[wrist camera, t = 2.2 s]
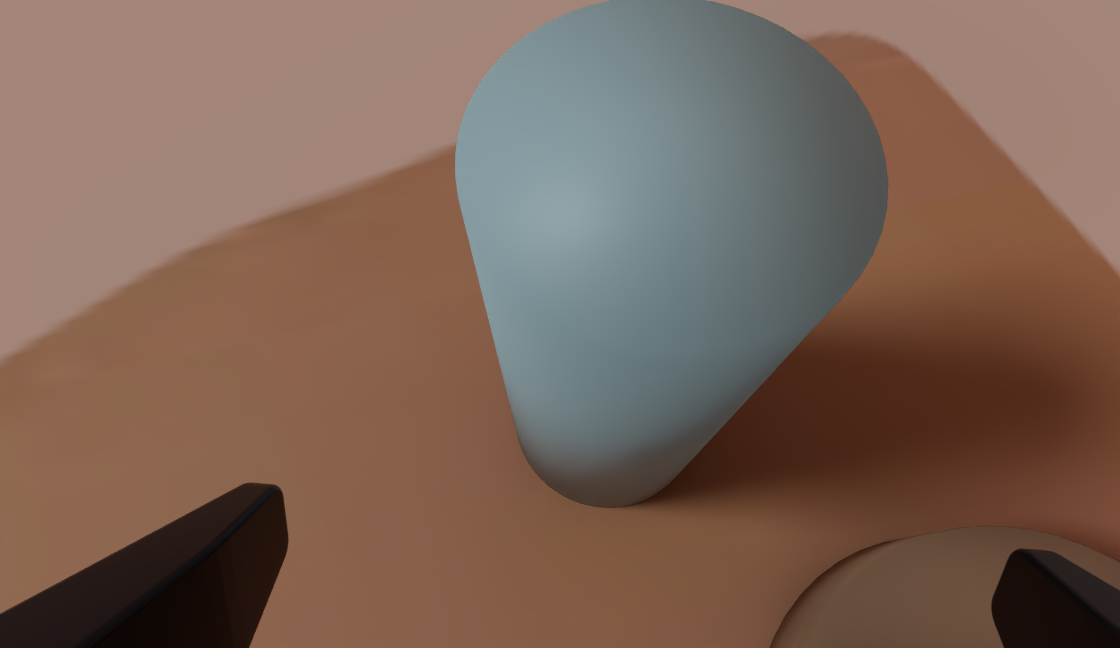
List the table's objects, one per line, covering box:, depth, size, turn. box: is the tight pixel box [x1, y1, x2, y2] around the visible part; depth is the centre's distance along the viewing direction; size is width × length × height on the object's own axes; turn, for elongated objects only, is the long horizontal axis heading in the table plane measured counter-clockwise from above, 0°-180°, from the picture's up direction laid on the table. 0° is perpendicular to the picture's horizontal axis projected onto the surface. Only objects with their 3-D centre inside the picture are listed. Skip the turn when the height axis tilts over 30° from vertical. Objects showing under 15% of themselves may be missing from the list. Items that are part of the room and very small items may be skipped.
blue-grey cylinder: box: [455, 0, 888, 508], centre depth 15 cm, size 6×6×13 cm
